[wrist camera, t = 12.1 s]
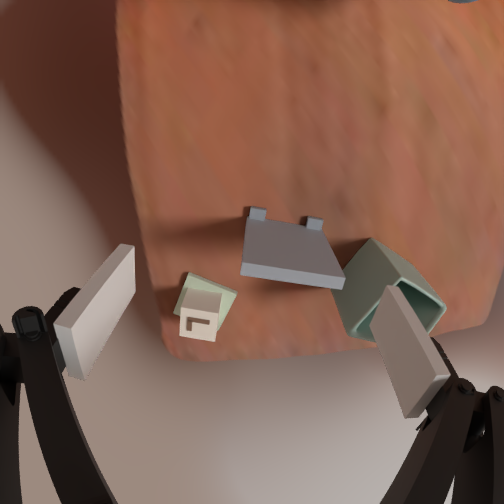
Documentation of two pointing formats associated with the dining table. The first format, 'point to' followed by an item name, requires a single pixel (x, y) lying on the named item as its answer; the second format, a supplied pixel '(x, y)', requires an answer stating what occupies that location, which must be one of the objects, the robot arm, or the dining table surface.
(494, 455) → the robot arm
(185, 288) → the pad
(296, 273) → the board
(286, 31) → the dining table surface
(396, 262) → the planter
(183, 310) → the letter cube
